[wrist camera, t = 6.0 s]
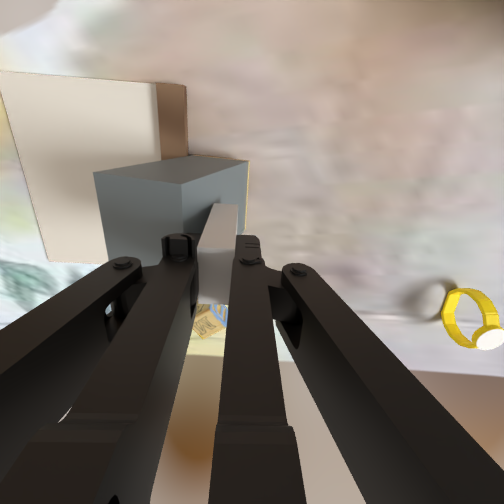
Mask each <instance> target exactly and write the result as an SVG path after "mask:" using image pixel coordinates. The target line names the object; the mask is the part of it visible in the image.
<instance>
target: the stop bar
mask: <svg viewBox="0 0 504 504" xmlns="http://www.w3.org/2000/svg"><path fill="white" fill-rule="evenodd" d="M156 94H157V108H158V122H159V136H160V150H161V160H167V159H173V158H178V157H184V156H188V127H187V94H186V86H184V85H178V84H166V83H156Z"/></svg>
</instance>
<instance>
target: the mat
mask: <svg viewBox="0 0 504 504" xmlns="http://www.w3.org/2000/svg"><path fill="white" fill-rule="evenodd" d="M0 91H1V94H2V98H3V101H4V105H5V108H6V112H7V115H8V119H9V122H10V126H11V129H12V133H13V136H14V140H15V143H16V147H17V150H18V154H19V157H20V161H21V164H22V168H23V172H24V175H25V179H26V182H27V186H28V189H29V193H30V196H31V200H32V203H33V207H34V210H35V214H36V217H37V221H38V224H39V228H40V231H41V235H42V238H43V242H44V245H45V249H46V252H47V256H48V259H49V262H67V263H87V264H105V263H106V262H108V261H109V260H108V255H107V249H106V244H105V238H104V232H103V227H102V221H101V216H100V210H99V204H98V199H97V193H96V188H95V182H94V176H93V172H97V171H103V170H108V169H114V168H120V167H126V166H132V165H138V164H143V163H149V162H155V161H161V150H160V136H159V122H158V108H157V94H156V84H152V83H140V82H128V81H115V80H103V79H91V78H79V77H66V76H54V75H42V74H30V73H18V72H5V71H0Z"/></svg>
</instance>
